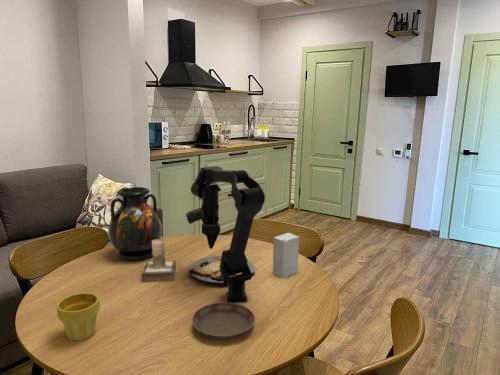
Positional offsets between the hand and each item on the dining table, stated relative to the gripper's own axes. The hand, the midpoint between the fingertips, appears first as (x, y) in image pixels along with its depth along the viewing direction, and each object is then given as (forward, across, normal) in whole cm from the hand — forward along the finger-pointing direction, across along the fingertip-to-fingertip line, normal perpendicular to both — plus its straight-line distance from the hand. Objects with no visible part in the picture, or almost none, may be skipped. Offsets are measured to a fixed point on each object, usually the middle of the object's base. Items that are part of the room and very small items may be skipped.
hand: (210, 243), depth 134 cm
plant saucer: (+13, +32, +3) cm, 35 cm away
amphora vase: (+14, -25, -31) cm, 42 cm away
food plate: (+14, -4, +4) cm, 15 cm away
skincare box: (+13, -1, +28) cm, 31 cm away
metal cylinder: (+10, -4, -19) cm, 22 cm away
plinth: (+13, -4, -19) cm, 23 cm away
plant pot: (+13, +32, -36) cm, 50 cm away
